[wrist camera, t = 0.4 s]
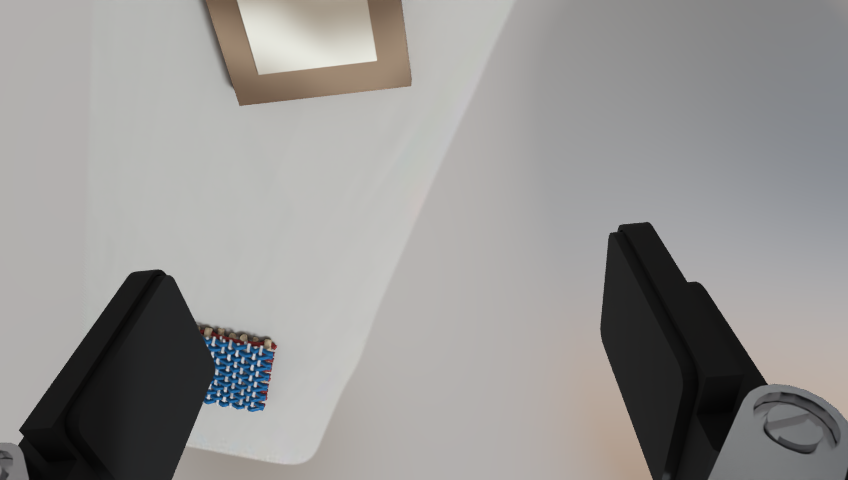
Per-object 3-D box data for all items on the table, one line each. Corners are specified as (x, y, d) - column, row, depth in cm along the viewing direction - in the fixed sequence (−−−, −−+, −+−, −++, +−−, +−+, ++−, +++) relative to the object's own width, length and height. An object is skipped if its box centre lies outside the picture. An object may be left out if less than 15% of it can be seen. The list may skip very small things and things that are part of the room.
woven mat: (166, 313, 51) (158, 328, 50) (279, 335, 53) (274, 350, 51) (165, 384, 57) (157, 400, 56) (267, 402, 59) (262, 418, 57)
